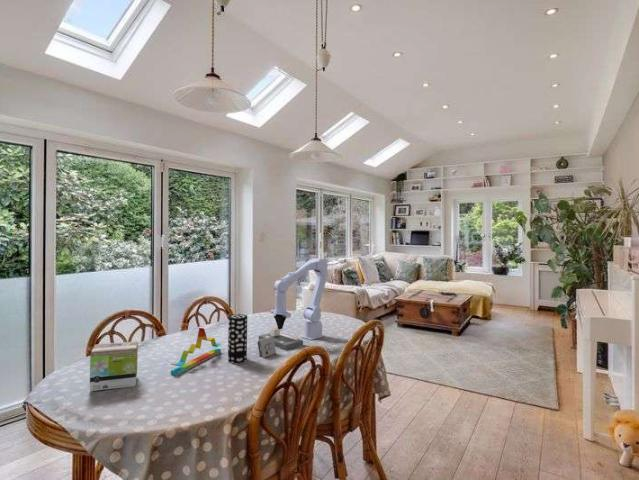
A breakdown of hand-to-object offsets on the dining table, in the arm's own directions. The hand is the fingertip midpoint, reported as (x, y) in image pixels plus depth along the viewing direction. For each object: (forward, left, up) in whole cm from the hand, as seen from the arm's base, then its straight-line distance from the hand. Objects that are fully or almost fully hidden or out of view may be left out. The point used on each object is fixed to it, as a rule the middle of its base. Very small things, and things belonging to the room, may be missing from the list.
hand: (280, 328), depth 194 cm
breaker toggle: (0, -4, -4) cm, 6 cm away
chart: (+45, -2, -8) cm, 46 cm away
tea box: (+79, -2, -8) cm, 79 cm away
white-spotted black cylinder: (+31, +7, -7) cm, 33 cm away
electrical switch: (+17, +10, -8) cm, 21 cm away
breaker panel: (0, 0, -7) cm, 7 cm away
